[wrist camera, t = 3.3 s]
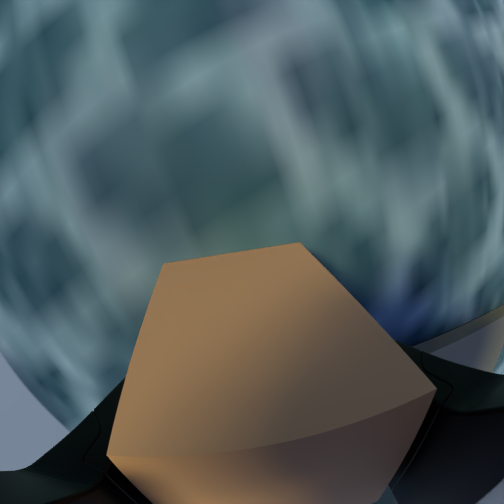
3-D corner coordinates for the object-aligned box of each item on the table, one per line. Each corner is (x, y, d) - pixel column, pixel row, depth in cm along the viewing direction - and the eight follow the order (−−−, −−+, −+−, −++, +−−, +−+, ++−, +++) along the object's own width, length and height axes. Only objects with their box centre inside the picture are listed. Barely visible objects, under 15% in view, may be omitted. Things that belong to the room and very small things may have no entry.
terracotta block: (299, 242, 10) (437, 388, 3) (304, 349, 11) (377, 500, 5) (163, 263, 9) (106, 455, 3) (192, 369, 11) (195, 538, 4)
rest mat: (507, 302, 15) (515, 308, 14) (463, 412, 19) (468, 418, 18) (324, 374, 13) (331, 388, 12) (315, 476, 17) (319, 486, 16)
